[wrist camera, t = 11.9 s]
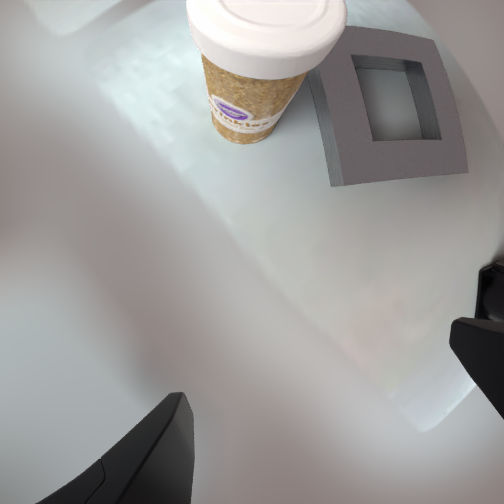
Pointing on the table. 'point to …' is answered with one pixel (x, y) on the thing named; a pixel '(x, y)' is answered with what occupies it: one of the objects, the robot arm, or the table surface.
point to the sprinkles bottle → (259, 56)
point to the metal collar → (356, 120)
